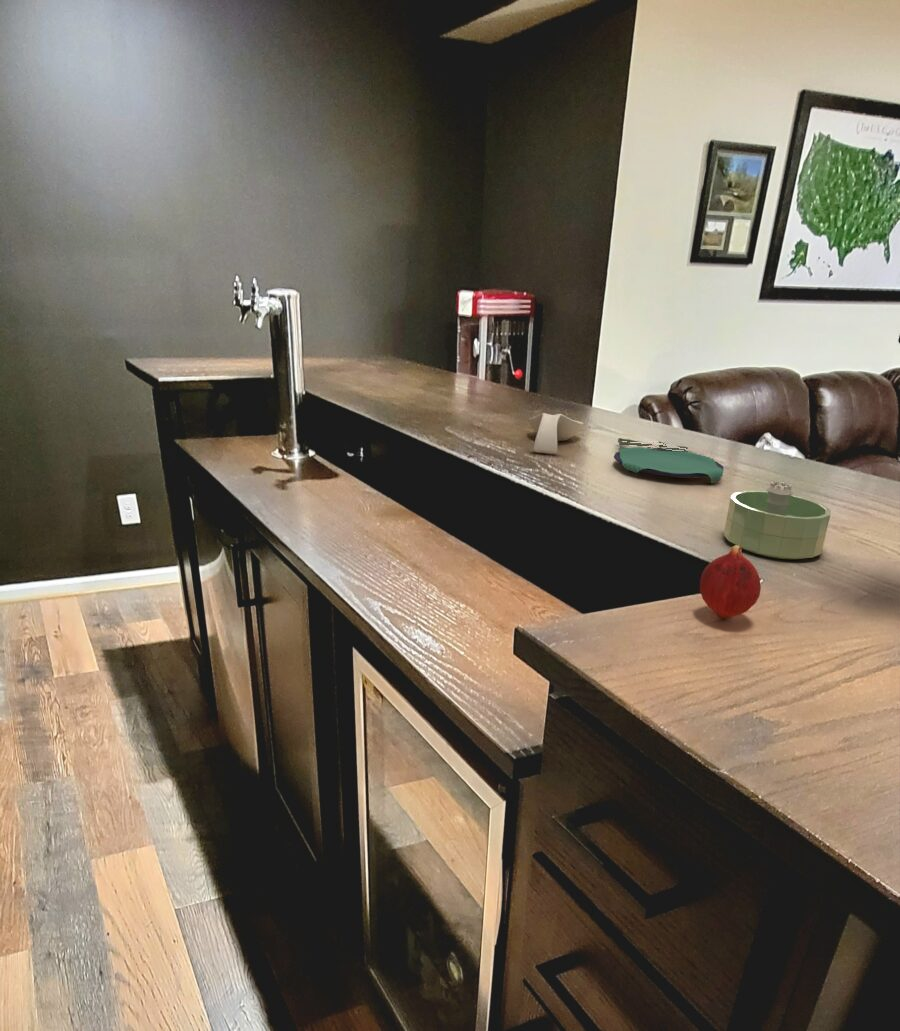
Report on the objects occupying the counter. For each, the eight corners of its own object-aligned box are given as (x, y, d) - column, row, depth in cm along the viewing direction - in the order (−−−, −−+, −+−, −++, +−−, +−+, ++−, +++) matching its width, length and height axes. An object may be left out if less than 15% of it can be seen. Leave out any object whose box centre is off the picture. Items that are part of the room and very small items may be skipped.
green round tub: (800, 534, 103) (809, 494, 101) (836, 566, 92) (846, 521, 90) (713, 527, 104) (720, 487, 102) (738, 558, 92) (746, 513, 91)
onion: (762, 633, 72) (778, 558, 70) (705, 630, 72) (719, 555, 70) (739, 607, 78) (754, 538, 75) (687, 605, 78) (699, 535, 75)
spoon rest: (530, 430, 165) (533, 398, 163) (582, 435, 162) (586, 403, 160) (516, 451, 143) (519, 416, 141) (576, 458, 140) (580, 422, 138)
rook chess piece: (745, 539, 98) (757, 482, 95) (761, 533, 101) (772, 478, 98) (778, 549, 95) (790, 490, 92) (793, 542, 98) (805, 486, 95)
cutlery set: (615, 479, 127) (617, 466, 126) (607, 443, 155) (609, 433, 155) (732, 490, 124) (734, 477, 124) (703, 452, 153) (705, 441, 152)
